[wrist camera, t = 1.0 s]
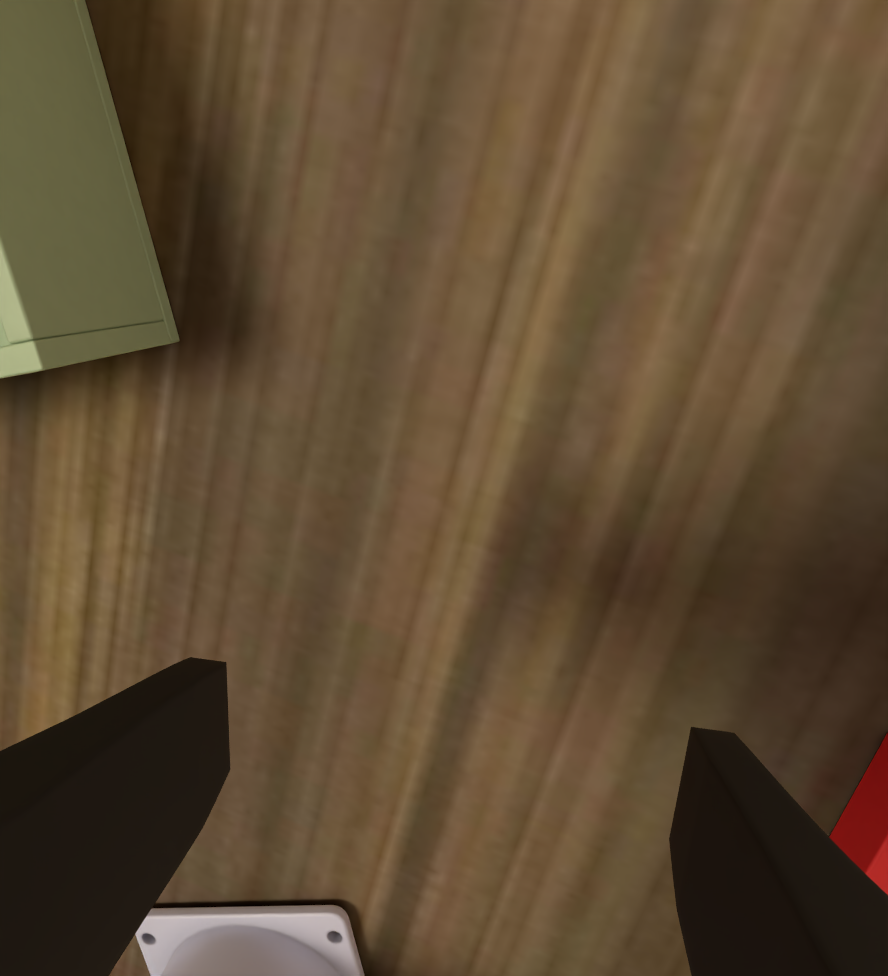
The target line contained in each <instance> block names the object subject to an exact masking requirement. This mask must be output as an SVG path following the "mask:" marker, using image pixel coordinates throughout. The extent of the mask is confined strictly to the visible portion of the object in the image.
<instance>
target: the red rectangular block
mask: <svg viewBox="0 0 888 976" xmlns="http://www.w3.org/2000/svg"><path fill="white" fill-rule="evenodd" d="M829 838H830V839H831V840H832V841H833V842H834V843H835V844H836V845H837V846H838V847H839V848H840V849H841V850H842V851H843V852H844V853H845V854H846V855H847V856H848V857H849V858H850V859H851V860H852V861H853V862H854V863H855V864H856V865H857V866H858V867H859V868H860V869H861V870H862V871H863V872H864V873H865V874H866V875H867V876H868V877H869V878H870V879H871V880H872V881H874V882H875V883H876V884H877V885H878V886H879V887H880V888H881V889H882V890H883V891H884V892H885V893H886V894H887V895H888V733H887V734H886V736H885V738H884V740H883V742H882V743H881V745H880V747H879V749H878V750H877V752H876V754H875V756H874V758H873V759H872V761H871V763H870V765H869V767H868V768H867V770H866V772H865V774H864V776H863V777H862V779H861V781H860V783H859V785H858V786H857V788H856V790H855V792H854V793H853V795H852V797H851V799H850V801H849V802H848V804H847V806H846V808H845V810H844V811H843V813H842V815H841V817H840V819H839V820H838V822H837V824H836V826H835V828H834V829H833V831H832V833H831V835H830V837H829Z"/></svg>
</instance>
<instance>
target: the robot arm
mask: <svg viewBox="0 0 888 976" xmlns="http://www.w3.org/2000/svg"><path fill="white" fill-rule="evenodd" d="M229 771H230V752H229V724H228V697H227V670H226V662H221V661H213V660H206V659H199V658H192V657H190V658H188V659H185V660H183V661H181V662H178V663H176V664H174V665H172V666H170V667H168V668H166V669H164V670H162V671H160V672H158V673H156V674H154V675H152V676H150V677H148V678H146V679H144V680H142V681H141V682H139V683H137V684H135V685H133V686H131V687H129V688H127V689H125V690H123V691H122V692H120V693H118V694H116V695H114V696H112V697H110V698H108V699H106V700H104V701H102V702H100V703H98V704H96V705H94V706H93V707H91V708H89V709H87V710H85V711H83V712H81V713H79V714H77V715H75V716H73V717H71V718H69V719H67V720H65V721H63V722H61V723H59V724H57V725H54V726H52V727H50V728H48V729H46V730H44V731H42V732H40V733H38V734H35V735H33V736H31V737H29V738H27V739H25V740H23V741H21V742H19V743H17V744H14V745H12V746H10V747H8V748H6V749H4V750H2V751H0V976H109V974H110V973H111V971H112V969H113V968H114V966H115V964H116V963H117V961H118V960H119V958H120V957H121V955H122V953H123V952H124V950H125V949H126V947H127V946H128V944H129V943H130V941H131V939H132V938H133V936H134V935H136V938H137V940H138V943H139V945H140V948H141V951H142V953H143V956H144V959H145V961H146V964H147V967H148V969H149V972H150V974H151V976H365V975H364V971H363V968H362V964H361V960H360V957H359V953H358V950H357V946H356V942H355V939H354V935H353V931H352V928H351V924H350V920H349V917H348V915H347V913H346V911H345V910H344V909H342V908H341V907H339V906H336V905H299V906H247V907H194V908H152V907H153V905H154V904H155V902H156V901H157V899H158V898H159V896H160V894H161V893H162V891H163V890H164V888H165V887H166V885H167V884H168V882H169V881H170V879H171V877H172V876H173V874H174V873H175V871H176V870H177V868H178V866H179V865H180V863H181V862H182V860H183V858H184V857H185V855H186V854H187V852H188V851H189V849H190V847H191V846H192V844H193V843H194V841H195V839H196V838H197V836H198V835H199V833H200V831H201V830H202V828H203V826H204V824H205V822H206V820H207V818H208V816H209V814H210V812H211V810H212V808H213V806H214V804H215V802H216V799H217V797H218V795H219V793H220V791H221V788H222V786H223V784H224V782H225V780H226V777H227V775H228V773H229ZM669 841H670V851H671V861H672V871H673V881H674V889H675V898H676V906H677V912H678V917H679V921H680V926H681V930H682V935H683V939H684V944H685V948H686V953H687V957H688V961H689V966H690V970H691V975H692V976H888V895H887V894H886V893H885V892H884V891H883V890H882V889H881V888H880V887H879V886H878V885H877V884H876V883H875V882H874V881H872V880H871V879H870V878H869V877H868V876H867V875H866V874H865V873H864V872H863V871H862V870H861V869H860V868H859V867H858V866H857V865H856V864H855V863H854V862H853V861H852V860H851V859H850V858H849V857H848V856H847V855H846V854H845V853H844V852H843V851H842V850H841V849H840V848H839V847H838V846H837V845H836V844H835V843H834V842H833V841H832V840H831V839H830V838H829V837H828V836H827V834H826V833H825V832H824V831H823V830H822V829H821V828H820V827H819V826H818V825H817V824H816V823H815V822H814V821H813V820H812V819H811V817H810V816H809V815H808V814H807V813H806V812H805V811H804V810H803V809H802V808H801V807H800V806H799V804H798V803H797V802H796V801H795V800H794V799H793V798H792V797H791V796H790V795H789V793H788V792H787V791H786V790H785V789H784V788H783V787H782V786H781V784H780V783H779V782H778V781H777V780H776V779H775V778H774V777H773V776H772V774H771V773H770V772H769V771H768V770H767V769H766V768H765V766H764V765H763V764H762V763H761V762H760V761H759V760H758V759H757V757H756V756H755V755H754V754H753V753H752V752H751V751H750V750H749V748H748V747H747V746H746V745H745V744H744V743H743V742H742V741H741V740H740V739H739V737H738V736H737V735H736V734H735V733H731V732H724V731H716V730H709V729H702V728H695V727H691V730H690V735H689V741H688V746H687V751H686V756H685V761H684V766H683V771H682V776H681V782H680V787H679V792H678V797H677V802H676V807H675V812H674V818H673V823H672V828H671V833H670V838H669ZM337 932H338V933H337Z"/></svg>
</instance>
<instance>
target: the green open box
mask: <svg viewBox="0 0 888 976" xmlns="http://www.w3.org/2000/svg"><path fill="white" fill-rule="evenodd" d="M176 342H179V336H178V332H177V329H176V325H175V321H174V318H173V314H172V311H171V307H170V303H169V300H168V296H167V293H166V289H165V286H164V282H163V278H162V275H161V271H160V268H159V264H158V260H157V257H156V253H155V250H154V246H153V242H152V239H151V235H150V232H149V228H148V224H147V221H146V217H145V214H144V210H143V207H142V203H141V199H140V196H139V192H138V189H137V185H136V181H135V178H134V174H133V171H132V167H131V163H130V160H129V156H128V153H127V149H126V145H125V142H124V138H123V135H122V131H121V128H120V124H119V120H118V117H117V113H116V110H115V106H114V102H113V99H112V95H111V92H110V88H109V84H108V81H107V77H106V74H105V70H104V66H103V63H102V59H101V56H100V52H99V49H98V45H97V41H96V38H95V34H94V31H93V27H92V23H91V20H90V16H89V13H88V9H87V5H86V2H85V0H0V379H1V378H6V377H12V376H17V375H22V374H28V373H33V372H38V371H44V370H48V369H53V368H58V367H63V366H67V365H72V364H77V363H81V362H86V361H91V360H96V359H100V358H105V357H110V356H115V355H119V354H124V353H129V352H133V351H138V350H143V349H148V348H152V347H157V346H162V345H167V344H171V343H176Z"/></svg>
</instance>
